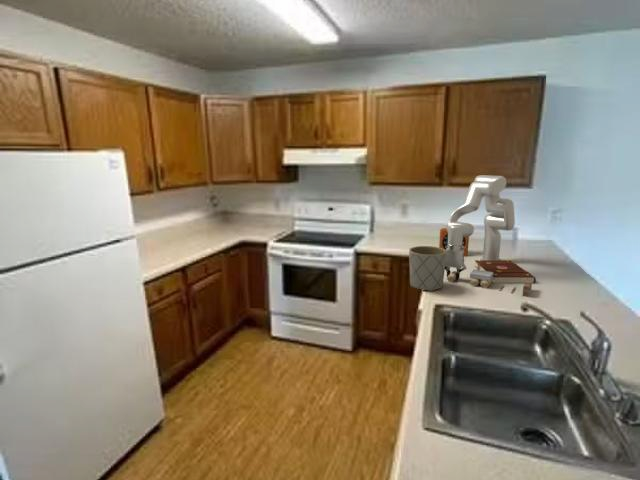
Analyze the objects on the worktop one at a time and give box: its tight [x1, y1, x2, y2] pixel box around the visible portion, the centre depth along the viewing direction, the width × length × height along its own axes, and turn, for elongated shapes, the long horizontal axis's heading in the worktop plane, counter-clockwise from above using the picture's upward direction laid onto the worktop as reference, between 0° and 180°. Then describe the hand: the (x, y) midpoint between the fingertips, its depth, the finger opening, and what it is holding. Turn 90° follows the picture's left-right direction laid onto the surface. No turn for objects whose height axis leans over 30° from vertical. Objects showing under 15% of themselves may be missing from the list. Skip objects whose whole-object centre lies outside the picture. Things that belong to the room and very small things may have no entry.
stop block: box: [522, 280, 533, 298], centre depth 191 cm, size 12×2×5 cm, turn 145°
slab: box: [469, 269, 494, 281], centre depth 203 cm, size 8×10×2 cm
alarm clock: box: [438, 226, 470, 257], centre depth 262 cm, size 18×9×21 cm, turn 76°
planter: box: [408, 245, 447, 292], centre depth 202 cm, size 19×19×20 cm
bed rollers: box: [470, 278, 517, 294], centre depth 200 cm, size 9×21×4 cm, turn 55°
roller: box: [446, 270, 457, 283], centre depth 212 cm, size 8×4×4 cm, turn 144°
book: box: [474, 259, 537, 284], centre depth 220 cm, size 23×32×5 cm
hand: (452, 278), depth 213 cm, fingers closed on roller, 4 cm apart
